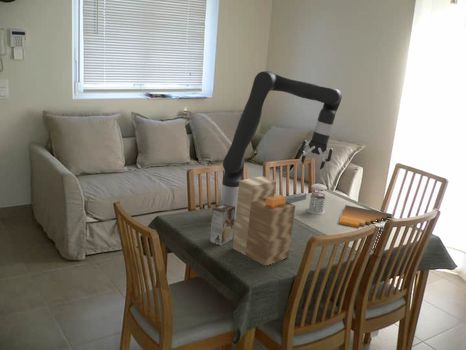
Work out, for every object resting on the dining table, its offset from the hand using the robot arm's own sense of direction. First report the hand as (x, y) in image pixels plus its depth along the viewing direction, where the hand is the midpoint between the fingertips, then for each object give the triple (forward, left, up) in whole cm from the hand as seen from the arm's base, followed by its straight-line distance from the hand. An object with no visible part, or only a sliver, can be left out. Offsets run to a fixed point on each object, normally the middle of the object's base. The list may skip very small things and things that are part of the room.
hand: (311, 166), depth 236 cm
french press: (+1, +36, -34) cm, 49 cm away
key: (-5, -27, -10) cm, 29 cm away
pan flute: (+28, +36, -35) cm, 57 cm away
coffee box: (-32, -25, -34) cm, 54 cm away
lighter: (+34, +4, -34) cm, 48 cm away
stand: (-13, -29, -34) cm, 47 cm away
